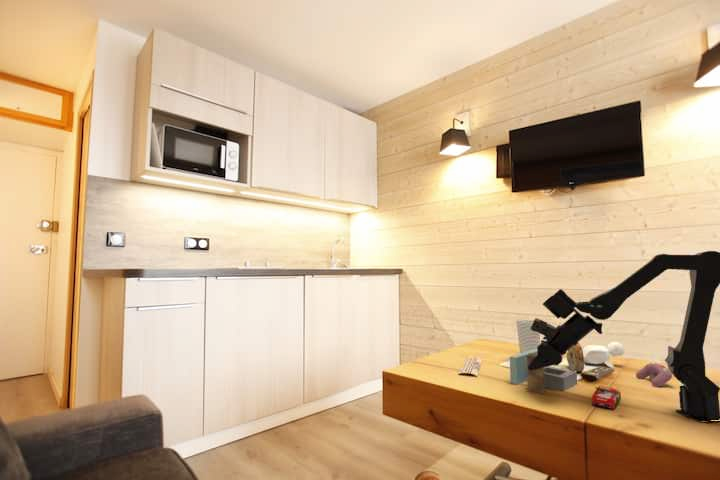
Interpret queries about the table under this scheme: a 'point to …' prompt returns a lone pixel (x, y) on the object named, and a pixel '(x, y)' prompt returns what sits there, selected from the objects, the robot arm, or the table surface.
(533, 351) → the backstop board
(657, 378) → the video game controller
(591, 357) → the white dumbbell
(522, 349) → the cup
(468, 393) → the table surface
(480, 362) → the newspaper
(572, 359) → the stone disc
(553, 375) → the socket block
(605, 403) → the race car
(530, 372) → the walnut post
